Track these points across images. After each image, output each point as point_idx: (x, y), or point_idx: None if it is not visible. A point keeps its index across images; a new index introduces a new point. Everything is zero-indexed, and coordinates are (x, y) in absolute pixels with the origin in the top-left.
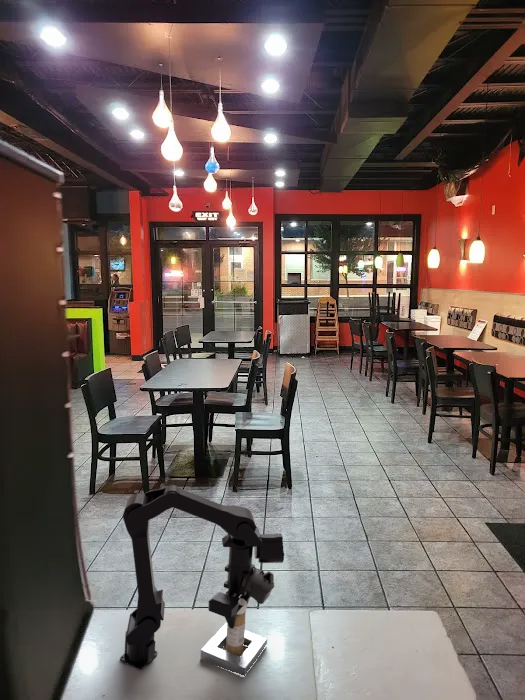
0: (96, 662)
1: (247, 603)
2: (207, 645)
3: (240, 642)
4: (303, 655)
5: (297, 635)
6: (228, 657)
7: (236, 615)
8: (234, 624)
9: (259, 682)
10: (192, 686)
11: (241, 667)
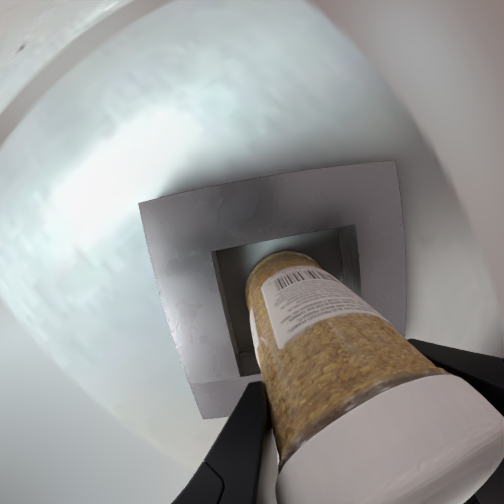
0: None
1: (213, 473)
2: None
3: (321, 272)
4: (97, 65)
5: (22, 159)
6: (387, 265)
7: (492, 378)
8: (425, 349)
9: (347, 104)
10: (469, 281)
11: (396, 178)
